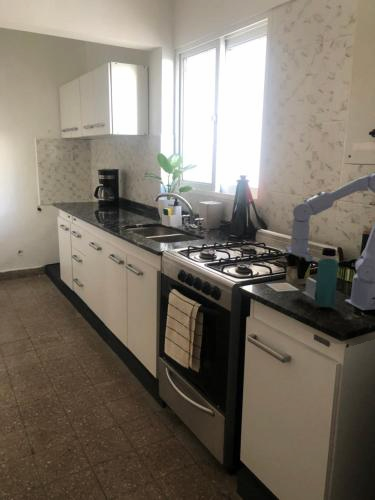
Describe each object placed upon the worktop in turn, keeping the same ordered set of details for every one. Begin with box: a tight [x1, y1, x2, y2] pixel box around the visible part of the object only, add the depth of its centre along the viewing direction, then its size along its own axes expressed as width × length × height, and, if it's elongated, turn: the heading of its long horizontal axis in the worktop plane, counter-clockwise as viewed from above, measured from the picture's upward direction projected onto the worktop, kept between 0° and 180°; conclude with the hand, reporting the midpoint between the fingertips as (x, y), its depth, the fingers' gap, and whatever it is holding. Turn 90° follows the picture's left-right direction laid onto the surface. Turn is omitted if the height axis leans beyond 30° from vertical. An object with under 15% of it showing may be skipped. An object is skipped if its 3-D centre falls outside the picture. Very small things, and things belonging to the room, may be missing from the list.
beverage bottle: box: [313, 247, 339, 308], centre depth 135 cm, size 6×7×20 cm
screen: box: [302, 277, 316, 302], centre depth 148 cm, size 8×3×6 cm, turn 16°
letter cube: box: [285, 266, 307, 285], centre depth 146 cm, size 5×5×5 cm
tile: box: [265, 282, 300, 293], centre depth 158 cm, size 9×9×1 cm
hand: (296, 276), depth 147 cm, fingers closed on letter cube, 5 cm apart
